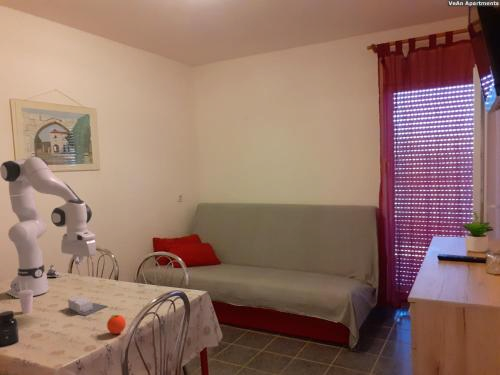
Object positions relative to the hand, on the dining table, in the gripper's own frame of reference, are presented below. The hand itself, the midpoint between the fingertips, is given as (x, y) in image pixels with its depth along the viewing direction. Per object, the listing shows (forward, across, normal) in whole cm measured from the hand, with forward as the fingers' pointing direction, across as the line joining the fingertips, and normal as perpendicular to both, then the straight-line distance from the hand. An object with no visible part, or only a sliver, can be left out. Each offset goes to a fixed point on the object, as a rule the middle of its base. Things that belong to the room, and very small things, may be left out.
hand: (78, 264), depth 180 cm
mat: (+21, +4, 0) cm, 21 cm away
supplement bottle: (+21, +7, -37) cm, 43 cm away
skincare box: (+18, -5, 0) cm, 19 cm away
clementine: (+20, +37, -12) cm, 44 cm away
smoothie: (+22, -19, -14) cm, 32 cm away
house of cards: (+22, -67, +33) cm, 78 cm away
